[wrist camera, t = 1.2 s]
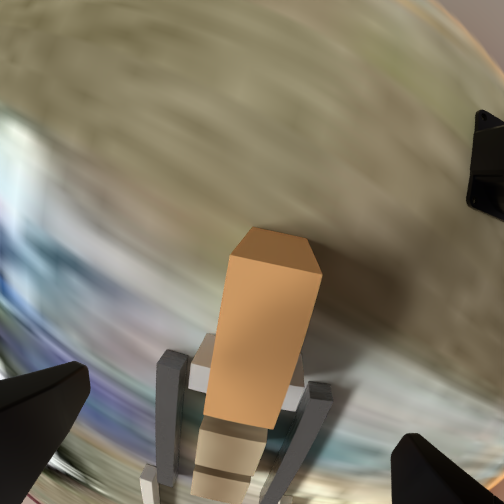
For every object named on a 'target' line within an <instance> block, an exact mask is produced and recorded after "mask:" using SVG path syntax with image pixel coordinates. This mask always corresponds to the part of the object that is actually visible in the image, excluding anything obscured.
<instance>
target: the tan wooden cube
mask: <svg viewBox="0 0 504 504" xmlns="http://www.w3.org/2000/svg"><path fill="white" fill-rule="evenodd" d="M250 481H251V476H247V475H242V474H236V473H231V472H227V471H222V470H218V469H213V468H209V467H205V466H201V465H197V464H196V465H195V468H194V471H193V479H192V487H191V494H192V495H195V496H199V497H203V498H207V499H212V500H216V501H221V502H226V503H231V504H241V503H242V501H243V499H244V496H245V494H246V492H247V489H248V487H249V485H250Z"/></svg>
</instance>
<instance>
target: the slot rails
mask: <svg viewBox="0 0 504 504" xmlns="http://www.w3.org/2000/svg"><path fill="white" fill-rule="evenodd" d="M187 361H188V355H184V354H181V353H177V352H174V351H170V350H166V351H165V352H164V354H163V355H162V357H161V358H160V360H159V361H158V362H157V371H156V468H157V483H160V484H163V485H166V486H169V487H173V485H174V483H175V480H176V478H177V475H178V462H179V447H180V433H181V421H182V410H183V399H184V389H185V379H186V370H187ZM332 403H333V397H332V392H331V387H330V385H329V384H321V383H315V382H308V384H307V387H306V389H305V392H304V395H303V397H302V400H301V402H300V405H299V407H298V410H297V412H296V415H295V417H294V420H293V422H292V424H291V427H290V429H289V432H288V434H287V436H286V439H285V441H284V443H283V445H282V448H281V450H280V452H279V454H278V457H277V459H276V461H275V463H274V465H273V467H272V469H271V472H270V474H269V476H268V478H267V480H266V482H265V484H264V486H263V488H262V490H261V492H260V499H259V504H278V502H279V501H280V499H281V498H282V496H283V495H284V493H285V491H286V490H287V488H288V486H289V485H290V483H291V481H292V480H293V478H294V476H295V475H296V473H297V471H298V469H299V468H300V466H301V464H302V462H303V461H304V459H305V457H306V455H307V453H308V451H309V450H310V448H311V446H312V444H313V442H314V440H315V438H316V436H317V434H318V432H319V430H320V428H321V426H322V424H323V422H324V420H325V418H326V416H327V414H328V412H329V410H330V408H331V405H332Z"/></svg>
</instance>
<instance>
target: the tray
mask: <svg viewBox="0 0 504 504" xmlns="http://www.w3.org/2000/svg"><path fill="white" fill-rule="evenodd" d="M140 485H141V491H142V497H143V503H144V504H160V498H159V483H157V468H156V467H154V466H151V465H148V464H146V466H145V468H144V470H143V472H142V474H141V476H140ZM278 504H293V496H284V495H283V496H282V498H281V499H280V501H279V502H278Z"/></svg>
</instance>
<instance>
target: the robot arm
mask: <svg viewBox="0 0 504 504" xmlns="http://www.w3.org/2000/svg"><path fill="white" fill-rule="evenodd" d="M481 115H482V116H483V118H484V120H483V119H482V116H481ZM473 197H474V198H475V202H474V203H473V201H472V199H473ZM466 202H467V205H468V206H469V207H470V208H473V209H475V210H478V211H480V212H483V213H485V214H487V215H490V216H492V217H494V218H497V219H499V220H501V221H503V222H504V122H503V121H502V120H500V119H499V118H497V117H495V116H494V115H492V114H490V113H489V112H487V111H485V110H479V111H477V112H476V115H475V132H474V136H473V148H472V157H471V165H470V178H469V184H468V190H467V196H466ZM90 389H91V387H90V379H89V371H88V368H87V366H86V365H84V364H81V363H79V362H77V361H72V362H68V363H65V364H61V365H58V366H54V367H50V368H47V369H43V370H39V371H35V372H31V373H27V374H24V375H20V376H16V377H12V378H7V379H3V380H0V504H21V503H22V502H23V500H24V498H25V497H26V495H27V494H28V492H29V491H30V489H31V488H32V486H33V485H34V483H35V482H36V480H37V479H38V477H39V475H40V474H41V472H42V471H43V469H44V468H45V466H46V465H47V464H48V462H49V461H50V459H51V458H52V456H53V455H54V453H55V452H56V450H57V449H58V447H59V446H60V444H61V443H62V442H63V440H64V439H65V437H66V436H67V434H68V433H69V431H70V429H71V427H72V426H73V424H74V422H75V420H76V418H77V416H78V414H79V412H80V411H81V409H82V407H83V405H84V403H85V401H86V399H87V398H88V396H89V394H90ZM391 488H392V504H504V502H503V501H501V500H500V499H499V498H498V497H496V496H494V495H493V494H492V493H491V492H490V491H489V490H487V489H486V488H485V487H484V486H482V485H481V484H480V483H479V482H477V481H476V480H475V479H474V478H472V477H471V476H470V475H469V474H467V473H466V472H465V471H464V470H462V469H461V468H460V467H459V466H457V465H456V464H455V463H454V462H453V461H451V460H450V459H449V458H448V457H446V456H445V455H444V454H443V453H442V452H440V451H439V450H438V449H437V448H436V447H434V446H433V445H432V444H431V443H430V442H428V441H427V440H426V439H425V438H424V437H422V436H421V435H420V434H418V433H407V434H405V435H404V436H403V437H402V439H401V440H400V441H399V443H398V444H397V446H396V447H395V449H394V450H393V452H392V454H391Z"/></svg>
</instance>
